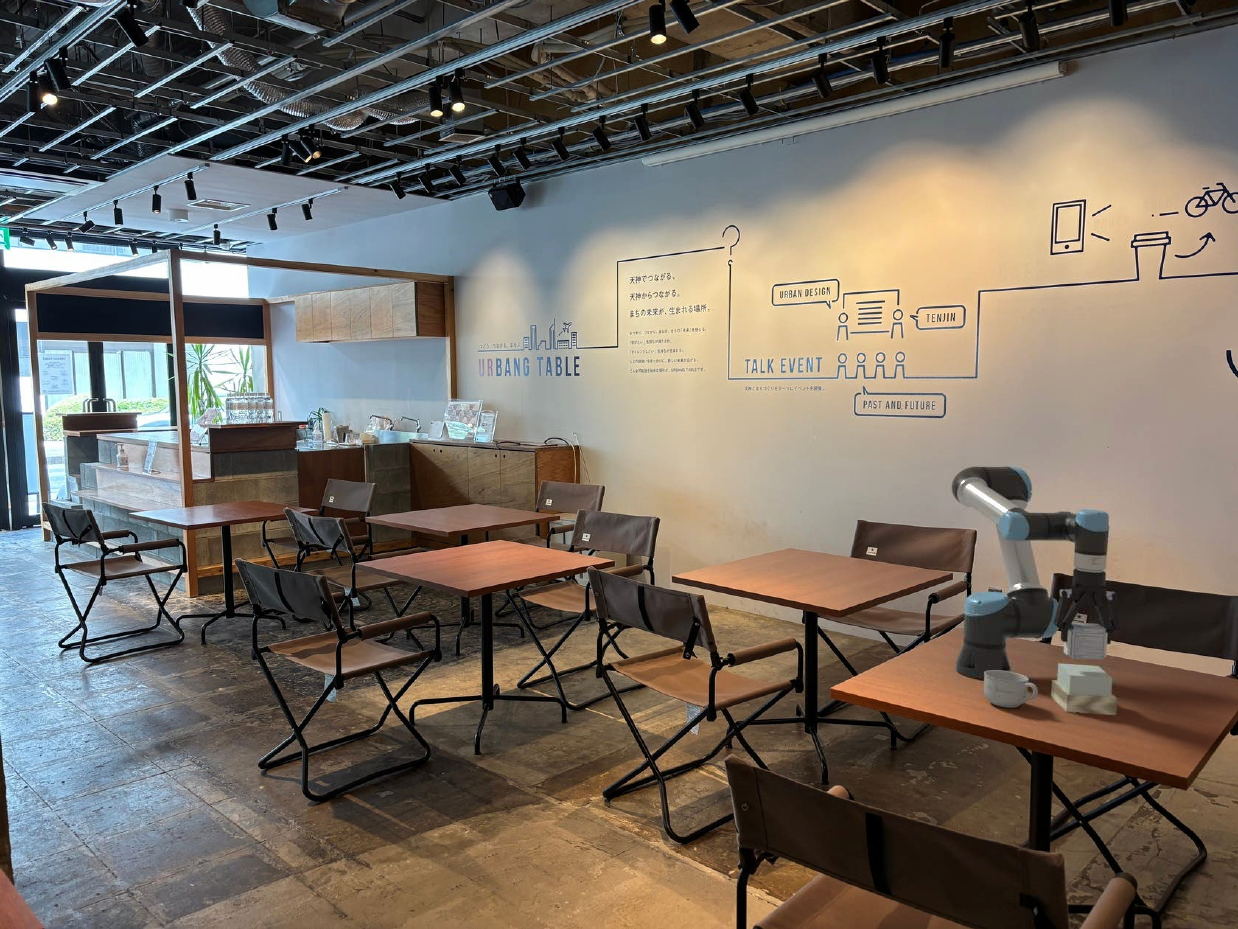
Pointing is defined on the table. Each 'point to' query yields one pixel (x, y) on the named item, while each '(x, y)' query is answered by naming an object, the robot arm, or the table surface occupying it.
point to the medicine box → (1087, 641)
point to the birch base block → (1083, 701)
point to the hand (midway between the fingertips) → (1084, 654)
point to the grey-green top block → (1084, 680)
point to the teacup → (1007, 688)
